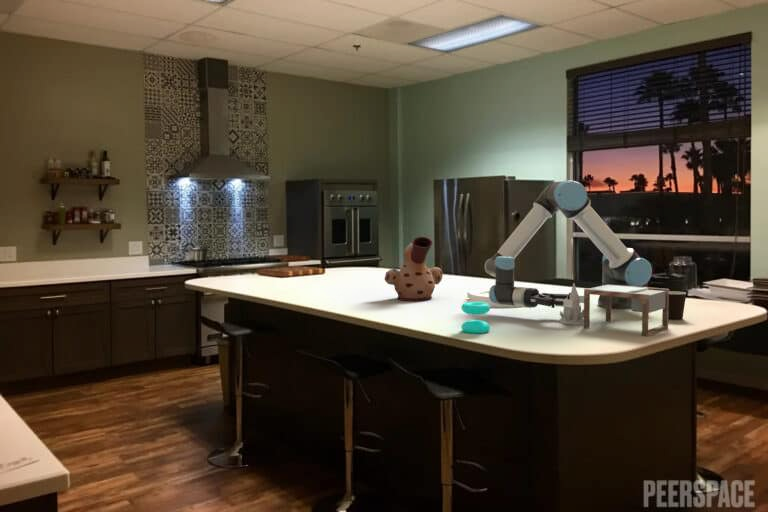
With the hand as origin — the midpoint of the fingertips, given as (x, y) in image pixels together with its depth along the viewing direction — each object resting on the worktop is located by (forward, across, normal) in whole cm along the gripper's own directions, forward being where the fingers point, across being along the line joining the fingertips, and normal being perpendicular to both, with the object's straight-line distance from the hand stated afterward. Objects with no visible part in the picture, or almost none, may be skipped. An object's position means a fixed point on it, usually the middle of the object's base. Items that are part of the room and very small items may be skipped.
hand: (579, 301), depth 243 cm
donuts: (-23, +36, -8) cm, 44 cm away
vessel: (-87, -15, -8) cm, 88 cm away
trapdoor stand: (+16, +1, -8) cm, 18 cm away
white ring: (-49, -29, -9) cm, 58 cm away
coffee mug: (+25, -31, -8) cm, 41 cm away
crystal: (-3, 0, -8) cm, 9 cm away
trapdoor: (+17, +1, -1) cm, 17 cm away
